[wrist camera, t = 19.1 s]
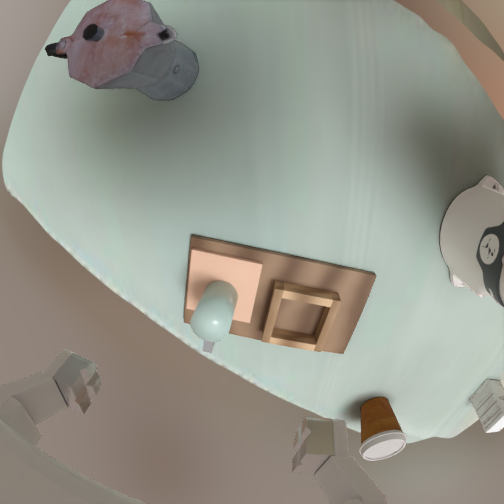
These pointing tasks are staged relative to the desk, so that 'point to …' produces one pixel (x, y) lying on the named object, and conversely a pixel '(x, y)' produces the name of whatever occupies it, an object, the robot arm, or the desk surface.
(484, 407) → the supplement box
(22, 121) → the desk surface
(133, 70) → the moka pot
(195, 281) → the terracotta coaster
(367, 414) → the disposable coffee cup
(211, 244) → the walnut board
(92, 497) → the robot arm
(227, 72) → the desk surface
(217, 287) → the pale blue rounded piece
